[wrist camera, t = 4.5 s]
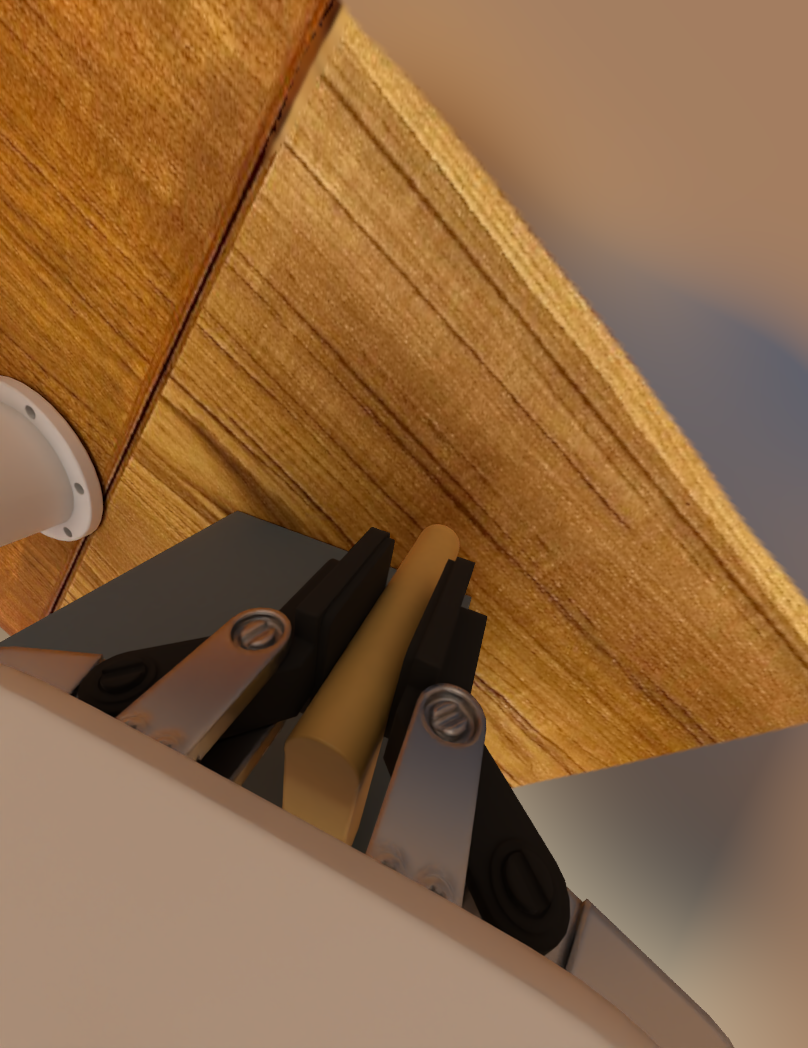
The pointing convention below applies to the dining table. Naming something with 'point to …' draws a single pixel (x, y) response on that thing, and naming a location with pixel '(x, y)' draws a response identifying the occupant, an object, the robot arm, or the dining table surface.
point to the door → (270, 582)
